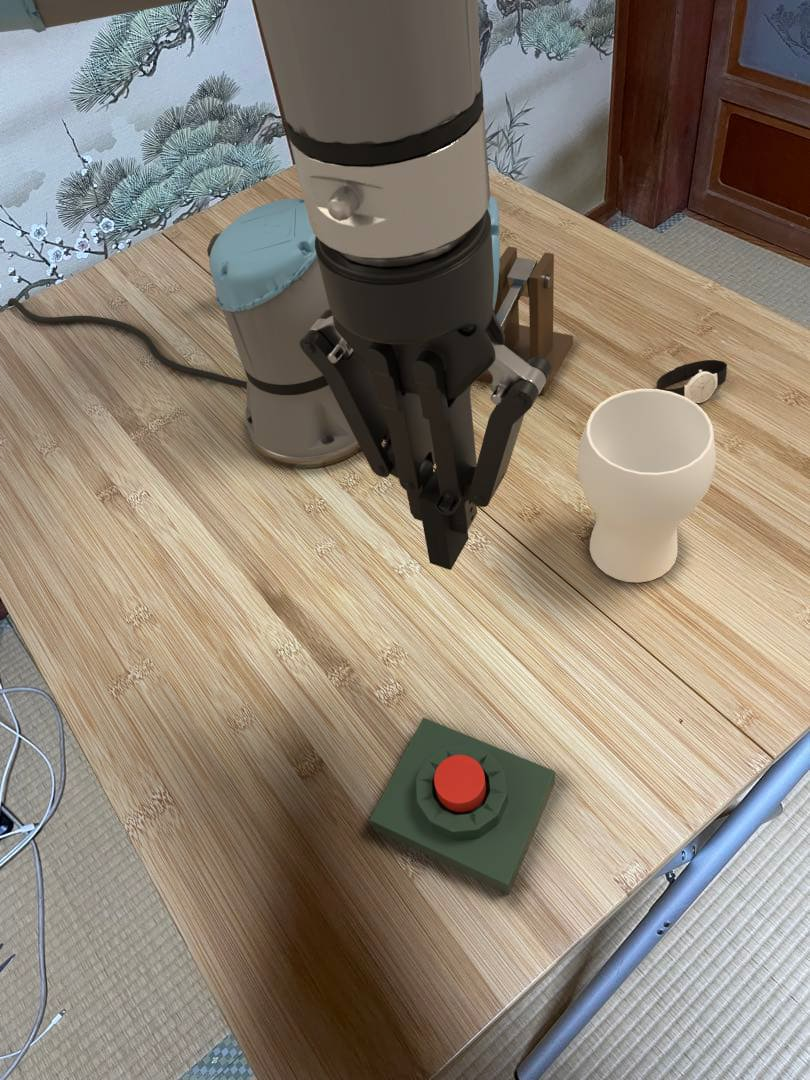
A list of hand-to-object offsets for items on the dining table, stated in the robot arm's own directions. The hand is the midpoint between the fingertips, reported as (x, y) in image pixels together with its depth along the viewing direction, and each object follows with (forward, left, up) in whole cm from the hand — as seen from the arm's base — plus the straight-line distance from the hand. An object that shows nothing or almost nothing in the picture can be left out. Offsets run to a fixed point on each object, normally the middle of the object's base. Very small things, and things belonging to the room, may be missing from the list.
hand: (449, 550), depth 53 cm
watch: (+6, +41, -20) cm, 46 cm away
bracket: (-12, +40, -20) cm, 46 cm away
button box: (+3, -9, -20) cm, 22 cm away
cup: (+7, +19, -20) cm, 29 cm away
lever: (-12, +36, -11) cm, 39 cm away
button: (+3, -9, -16) cm, 19 cm away
